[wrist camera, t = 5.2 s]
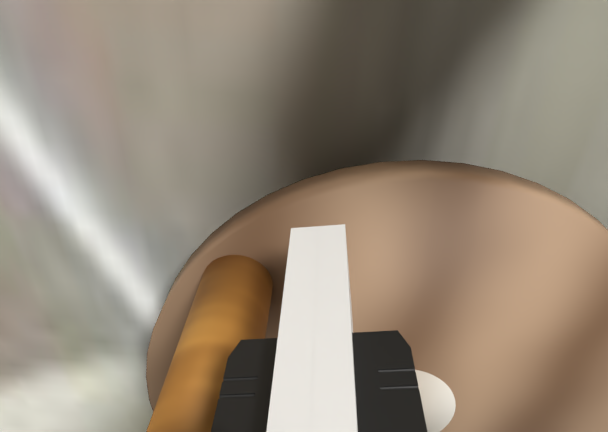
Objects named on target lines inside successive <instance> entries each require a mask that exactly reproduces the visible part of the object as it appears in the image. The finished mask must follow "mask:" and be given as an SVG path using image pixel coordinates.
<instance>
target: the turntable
mask: <svg viewBox="0 0 608 432" xmlns="http://www.w3.org/2000/svg"><path fill="white" fill-rule="evenodd" d="M342 224H345V229H346V242H347V255H348V267H349V280H350V293H351V306H352V322H353V333H354V332H374V331H393V330H398V331H399V333H400V334H401V335H402V336H403V338H404V339H405V340H406V342H407V343H408V344H409V346H410V347H411V351H412V356H413V361H414V366H415V372H416V376H417V381H418V388H419V391H420V396H421V401H422V406H423V411H424V417H425V422H426V427H427V432H608V230H607V229H606V228H605V227H604V226H603V225H602V224H601V223H600V222H599V221H598V220H597V219H596V218H595V217H593V216H592V215H590V214H589V213H588V212H586V211H585V210H584V209H582V208H581V207H579V206H578V205H577V204H575V203H574V202H573V201H571V200H570V199H568V198H566V197H564V196H562V195H560V194H558V193H556V192H554V191H552V190H550V189H548V188H546V187H544V186H542V185H540V184H538V183H535V182H532V181H530V180H527V179H524V178H521V177H518V176H515V175H512V174H509V173H506V172H503V171H499V170H494V169H489V168H484V167H479V166H475V165H470V164H465V163H454V162H441V161H427V160H414V161H391V162H378V163H372V164H366V165H360V166H354V167H347V168H341V169H338V170H334V171H331V172H327V173H324V174H321V175H317V176H314V177H310V178H307V179H303V180H301V181H299V182H296V183H294V184H292V185H289V186H287V187H285V188H282V189H280V190H278V191H275V192H273V193H271V194H268V195H267V196H265V197H263V198H262V199H260V200H258V201H256V202H255V203H253V204H251V205H250V206H248V207H246V208H245V209H243V210H241V211H240V212H238V213H237V214H235V215H234V216H233V217H232V218H230V219H229V220H228V221H227V222H225V223H224V224H223V225H222V226H220V227H219V228H218V229H216V230H215V231H214V232H213V233H212V234H211V235H210V236H209V237H208V238H207V239H206V240H205V241H204V242H203V243H202V244H201V245H200V246H199V248H198V249H197V250H196V251H195V252H194V253H193V254H192V255H191V256H190V258H189V259H188V261H187V262H186V264H185V265H184V267H183V268H182V270H181V271H180V273H179V274H178V276H177V277H176V279H175V281H174V283H173V285H172V288H171V290H170V292H169V294H168V296H167V299H166V301H165V303H164V305H163V308H162V310H161V312H160V315H159V317H158V319H157V322H156V324H155V326H154V328H153V332H152V336H151V340H150V344H149V348H148V353H147V369H146V380H147V387H148V394H149V400H150V403H151V406H152V409H153V415H152V417H151V420H150V423H149V426H148V428H147V431H146V432H211V428H212V424H213V420H214V415H215V411H216V407H217V403H218V399H219V397H220V395H219V394H220V390H221V385H222V382H223V377H224V372H225V368H226V364H227V359H228V357H229V355H230V354H231V353H232V351H233V350H234V349H235V347H236V346H237V345H238V343H239V342H240V340H246V339H266V338H278V331H279V323H280V315H281V307H282V299H283V290H284V282H285V274H286V266H287V257H288V249H289V241H290V233H291V228H300V227H314V226H328V225H342Z"/></svg>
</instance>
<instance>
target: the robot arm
mask: <svg viewBox="0 0 608 432" xmlns="http://www.w3.org/2000/svg"><path fill="white" fill-rule="evenodd" d="M219 395H220V397H219V399H218V403H217V407H216V411H215V415H214V420H213V424H212V428H211V432H427V427H426V422H425V417H424V411H423V406H422V401H421V396H420V391H419V388H418V381H417V376H416V372H415V366H414V361H413V356H412V351H411V347H410V346H409V344H408V343H407V342H406V340H405V339H404V338H403V336H402V335H401V334H400V333H399V331H398V330H393V331H374V332H354V333H353V322H352V306H351V293H350V280H349V267H348V255H347V242H346V229H345V224H342V225H328V226H314V227H300V228H291V233H290V241H289V249H288V257H287V266H286V274H285V282H284V290H283V299H282V307H281V315H280V323H279V331H278V338H266V339H246V340H240V342H239V343H238V345H237V346H236V347H235V349H234V350H233V351H232V353H231V354H230V355H229V357H228V359H227V364H226V368H225V372H224V377H223V382H222V385H221V390H220V394H219Z"/></svg>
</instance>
